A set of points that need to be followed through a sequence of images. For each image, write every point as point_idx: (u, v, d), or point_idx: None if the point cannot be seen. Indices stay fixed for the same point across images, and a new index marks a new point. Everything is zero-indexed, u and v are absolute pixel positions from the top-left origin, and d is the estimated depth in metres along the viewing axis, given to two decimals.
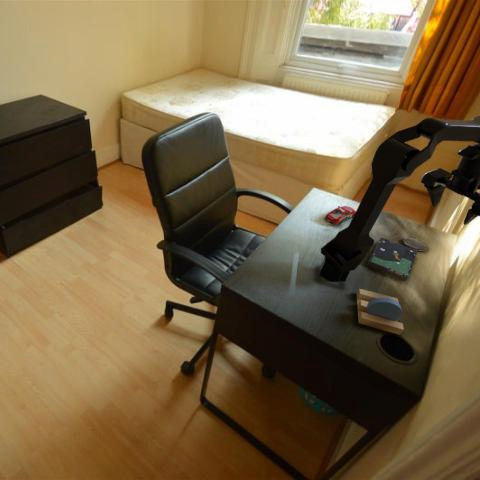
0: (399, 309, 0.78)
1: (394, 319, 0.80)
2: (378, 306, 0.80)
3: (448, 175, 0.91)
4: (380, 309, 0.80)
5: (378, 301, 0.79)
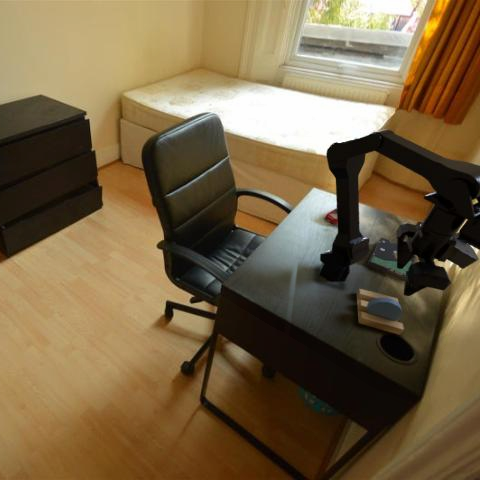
0: (399, 309, 0.78)
1: (394, 319, 0.80)
2: (378, 306, 0.80)
3: None
4: (380, 309, 0.80)
5: (378, 301, 0.79)
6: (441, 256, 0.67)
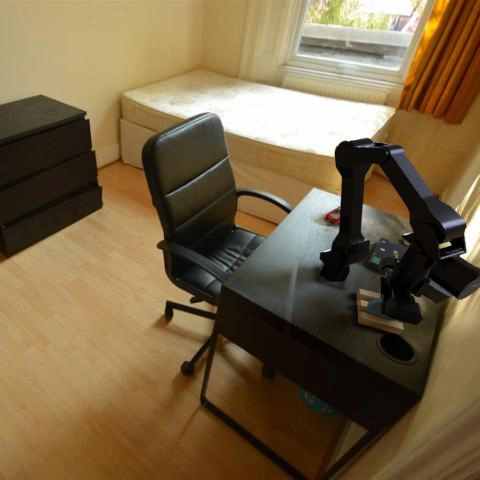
0: None
1: (394, 319, 0.80)
2: (378, 306, 0.80)
3: None
4: (380, 309, 0.80)
5: (378, 301, 0.79)
6: (416, 292, 0.72)
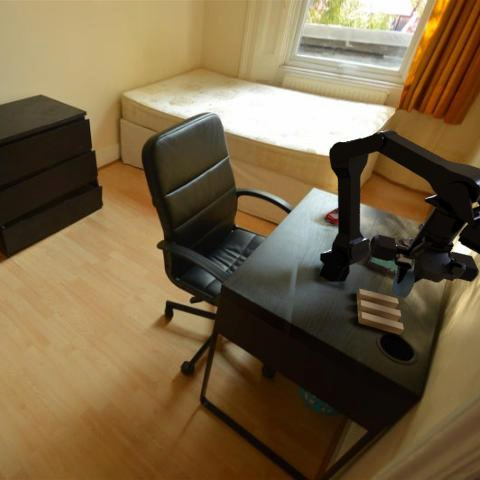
0: (405, 281, 0.73)
1: (397, 293, 0.75)
2: None
3: None
4: None
5: None
6: (412, 250, 0.69)
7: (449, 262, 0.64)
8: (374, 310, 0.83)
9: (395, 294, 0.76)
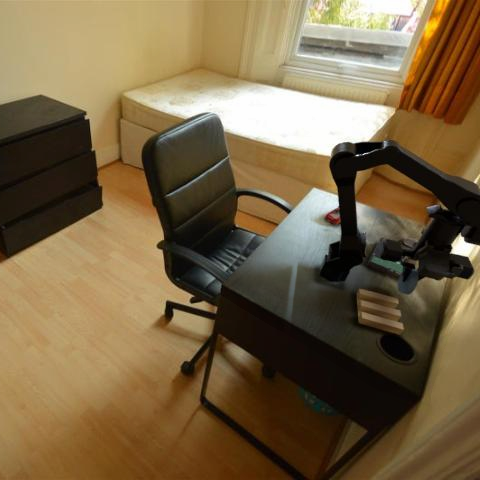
0: (410, 279, 0.83)
1: (403, 290, 0.85)
2: None
3: None
4: None
5: None
6: (416, 253, 0.79)
7: (449, 263, 0.74)
8: (374, 310, 0.83)
9: (401, 291, 0.86)
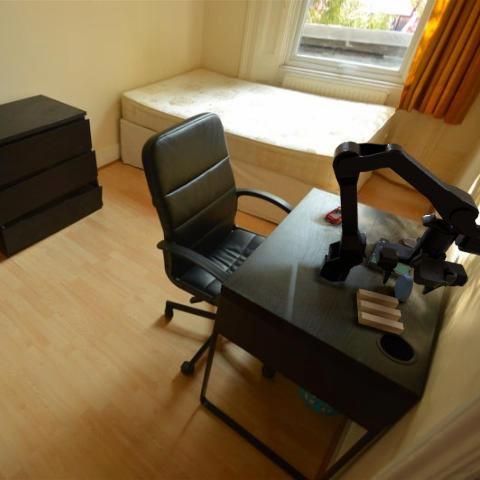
0: (404, 287, 0.85)
1: (398, 297, 0.87)
2: (400, 279, 0.88)
3: None
4: (399, 282, 0.88)
5: (404, 275, 0.88)
6: (411, 260, 0.80)
7: (443, 270, 0.75)
8: (374, 310, 0.83)
9: None
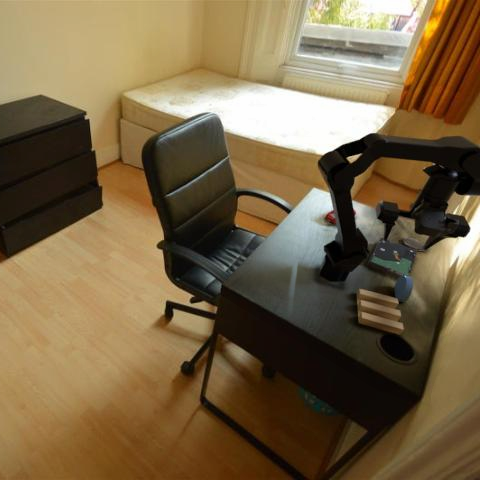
0: (404, 288, 0.85)
1: (398, 298, 0.87)
2: (401, 279, 0.88)
3: None
4: (400, 283, 0.88)
5: (404, 275, 0.87)
6: (413, 212, 0.79)
7: (445, 219, 0.75)
8: (374, 310, 0.83)
9: None
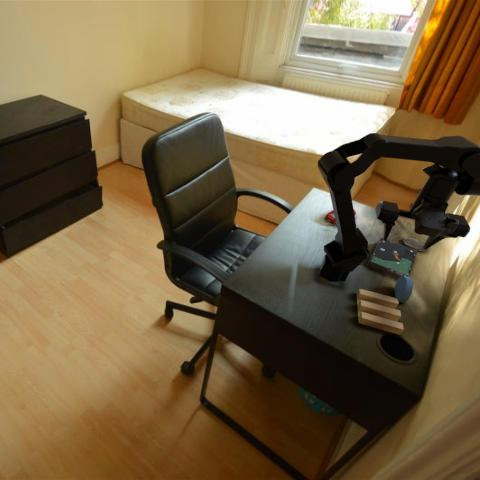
0: (404, 289, 0.85)
1: (398, 299, 0.87)
2: (401, 279, 0.88)
3: None
4: (400, 283, 0.88)
5: (405, 276, 0.87)
6: (412, 212, 0.79)
7: (445, 219, 0.75)
8: (374, 310, 0.83)
9: None
